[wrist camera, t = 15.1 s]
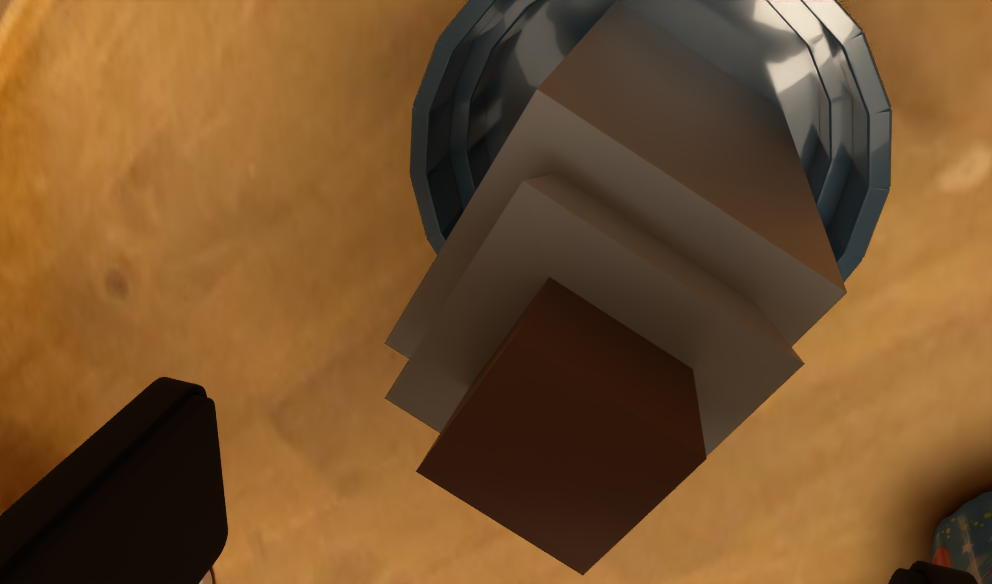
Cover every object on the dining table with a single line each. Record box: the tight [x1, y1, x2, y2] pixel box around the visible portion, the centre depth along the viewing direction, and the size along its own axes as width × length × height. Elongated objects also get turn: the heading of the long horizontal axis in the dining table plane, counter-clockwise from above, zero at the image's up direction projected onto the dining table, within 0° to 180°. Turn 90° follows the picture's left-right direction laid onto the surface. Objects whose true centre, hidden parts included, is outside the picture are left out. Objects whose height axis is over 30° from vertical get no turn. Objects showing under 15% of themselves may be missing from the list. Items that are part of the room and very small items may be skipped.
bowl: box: [410, 0, 892, 283], centre depth 25 cm, size 14×14×6 cm
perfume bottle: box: [385, 0, 847, 575], centre depth 19 cm, size 7×7×18 cm
